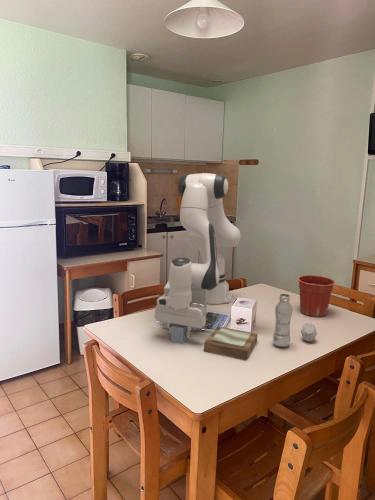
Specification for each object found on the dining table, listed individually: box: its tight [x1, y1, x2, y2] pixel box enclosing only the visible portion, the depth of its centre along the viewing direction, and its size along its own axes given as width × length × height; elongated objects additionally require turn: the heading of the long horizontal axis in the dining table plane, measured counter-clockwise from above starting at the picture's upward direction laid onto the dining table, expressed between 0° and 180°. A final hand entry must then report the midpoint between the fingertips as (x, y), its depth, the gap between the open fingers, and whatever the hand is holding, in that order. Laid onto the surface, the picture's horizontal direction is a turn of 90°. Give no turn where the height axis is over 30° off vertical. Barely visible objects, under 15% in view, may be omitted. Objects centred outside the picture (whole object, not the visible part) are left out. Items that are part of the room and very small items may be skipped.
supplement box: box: [163, 279, 207, 332], centre depth 161 cm, size 17×13×18 cm
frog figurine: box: [300, 322, 318, 342], centre depth 148 cm, size 6×7×7 cm
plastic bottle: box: [272, 293, 294, 348], centre depth 142 cm, size 6×7×20 cm
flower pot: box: [297, 274, 336, 318], centre depth 177 cm, size 16×16×16 cm
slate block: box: [170, 324, 189, 344], centre depth 147 cm, size 5×5×6 cm
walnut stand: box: [203, 326, 259, 361], centre depth 142 cm, size 16×16×4 cm
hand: (179, 334), depth 147 cm, fingers closed on slate block, 5 cm apart
